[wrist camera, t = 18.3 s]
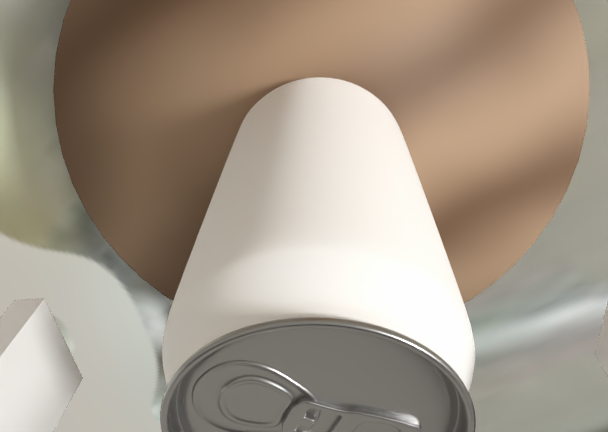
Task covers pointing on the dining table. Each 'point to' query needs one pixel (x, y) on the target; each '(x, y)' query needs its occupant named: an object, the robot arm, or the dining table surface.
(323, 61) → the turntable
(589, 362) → the dining table surface
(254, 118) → the can
